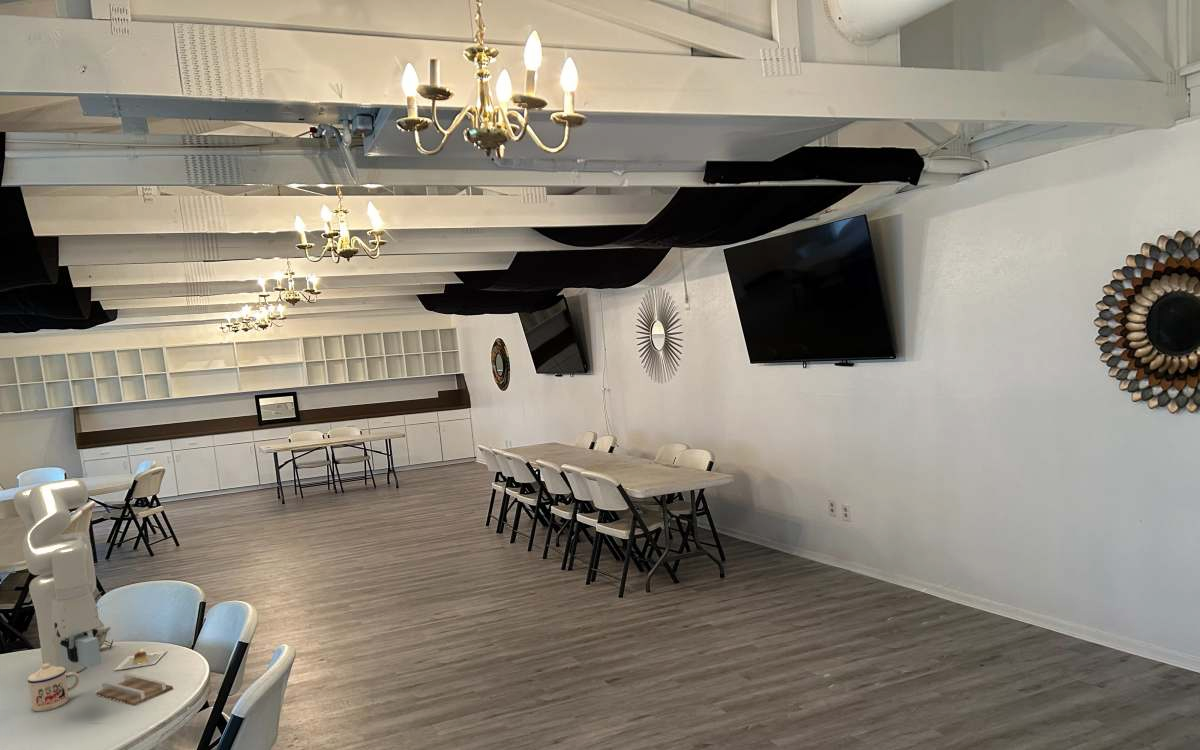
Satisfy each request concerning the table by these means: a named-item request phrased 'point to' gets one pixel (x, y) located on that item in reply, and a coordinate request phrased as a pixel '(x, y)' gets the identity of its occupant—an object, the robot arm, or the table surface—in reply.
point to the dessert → (139, 658)
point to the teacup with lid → (49, 687)
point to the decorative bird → (103, 637)
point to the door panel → (84, 651)
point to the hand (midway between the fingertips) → (81, 658)
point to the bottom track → (134, 689)
